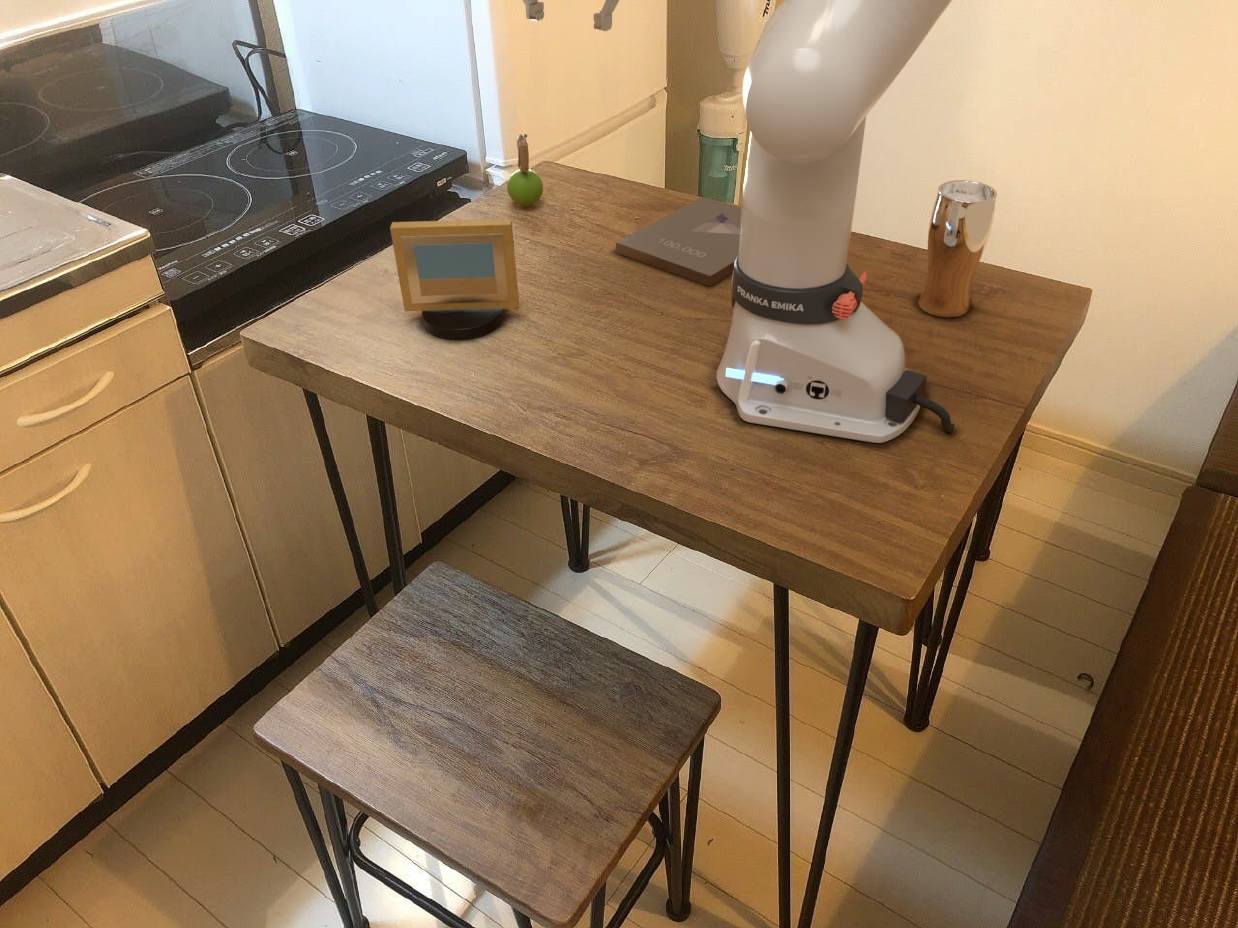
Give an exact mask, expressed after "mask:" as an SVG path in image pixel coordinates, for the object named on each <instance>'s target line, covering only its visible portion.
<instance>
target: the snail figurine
mask: <svg viewBox="0 0 1238 928" xmlns="http://www.w3.org/2000/svg"><path fill="white" fill-rule="evenodd" d="M527 138H528V133H524V134H522V133H520V134H518V136H517V137H516V148H517V154H518V155H517V160H518V161H517V167H518V169H517V170H515V171H513V172H512V173H511V175H510V176H509V177H508V180H507V183H506V189H507V193H508V196H509V198H510V199H511V201H513V203H515V204H517V205H519V206H522V207H529V206H532V205H535V204H536V203H537V202H538V201H539V200H540V199H541V197H542V195H543V192H544V183H543V180H542V178H541V176H540V175H539V174H538V173H537V172H536V171H534V170H532V169H530V166H529V165H530V164H529V163H530V157H529V156H530V153H529V144H528V142H527Z"/></svg>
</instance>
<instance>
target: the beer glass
mask: <svg viewBox="0 0 1238 928" xmlns="http://www.w3.org/2000/svg"><path fill="white" fill-rule="evenodd" d="M997 196H998V192H997V190H996V189H995V188H994V187H992V186H990V185H988V184H986V183H982V182H979V181H975V180H965V179H958V180H957V179H956V180H950V181H946V182H943V183H941V184H940V185H939V186H938V188H937V192H936V196H935V199H934V203H933V207H932V211H931V214H930V219H929V226H928V231H927V232H928V233H927V272H926V279H925V284H924V286H923V288H922V291H921V294H920V296H919V298H918V301H917V302H918V303H917V304H918V307H919V308H920V309H921V310H922V311H923V312H925V313H927V314H929V315H931V316H934V317H939V318H957V317H962V316H963V315H965V314H966V313H967V312H968V311H969V309H970V290H971V284H972V281H973V278H974V275H975V272H976V270H977V268H978V266H979V263H980V261H981V259H982V257H983V254H984V251H985V249H986V246H987V244H988V242H989V238H990V235H991V231H992V226H993V221H994V215H995V208H996V201H997Z"/></svg>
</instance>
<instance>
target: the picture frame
mask: <svg viewBox="0 0 1238 928" xmlns="http://www.w3.org/2000/svg"><path fill="white" fill-rule="evenodd" d="M512 221H513V220H512V218H497V219H496V218H495V219H494V218H493V219H492V218H491V219H462V220H461V219H460V220H459V219H458V220H427V221H426V220H424V221H423V220H421V221H420V220H419V221H392V222H391V225H390V227H389V231H390V236H391V241H392V248H393V253H394V259H395V264H396V269H397V276H398V282H399V286H400V292H401V298H402V302H403V303H402V304H403V309H404V312H422V311H438V310H473V309H503V310H504V309H506V310H507V309H519V308H520V307H519V305H520V297H519V284H518V273H517V265H516V254H515V253H516V252H515V242H514V233H513V232H514V231H513V222H512Z"/></svg>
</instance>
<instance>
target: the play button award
mask: <svg viewBox="0 0 1238 928" xmlns="http://www.w3.org/2000/svg"><path fill="white" fill-rule="evenodd" d="M741 210H742V208H740V207H737V206H733V205H730V204H727V203H725V202H720V201H718V200H714V199H711V198H707V197H704V196H701V197H699V198H698V199H696V200H693V201H692V202H690V203H688V204H686V205H684V206H682V207H681V208H679V209H676V210H675V211H672V212H671V213H669V214H667V215H665V216H663V217H662V218H659V219H658V220H655V221H653V222H651V223H650V224H648V225H646V226H644V227H642V228H640V229H639V230H637V231H635V232H633V233H631V234H629V235H627V236H625V237H623V238H621V239H619V240H618V241H615V253H616V254H619V255H622V256H623V257H627V258H629V259H633V260H635V261H637V262H640V263H644V264H645V265H649V266H651V267H654V268H657V269H660V270H663V271H665V272H667V273H668V272H669V273H670V274H673V275H676V276H678V277H681V278H684V279H688V280H690V281H692V282H695V283H699V284H701V285H704V286H707V287H712V286H713V285H715V284H717V283H718V282H720V281H722V280H723V279H725V278H727V277H729V276H730V275H731V274H733V270H734V263H735V259H736V258H737V257H739V242H740V226H741Z"/></svg>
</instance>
